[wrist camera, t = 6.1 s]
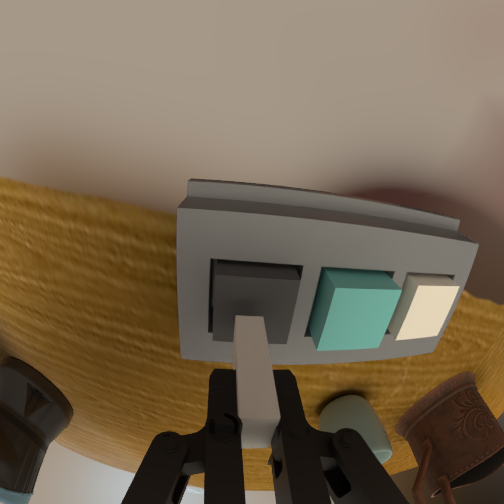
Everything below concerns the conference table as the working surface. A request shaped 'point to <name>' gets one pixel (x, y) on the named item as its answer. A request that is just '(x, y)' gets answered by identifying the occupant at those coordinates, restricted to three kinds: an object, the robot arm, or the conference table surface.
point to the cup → (357, 423)
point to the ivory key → (422, 305)
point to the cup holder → (452, 438)
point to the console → (305, 257)
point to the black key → (254, 297)
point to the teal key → (352, 308)
